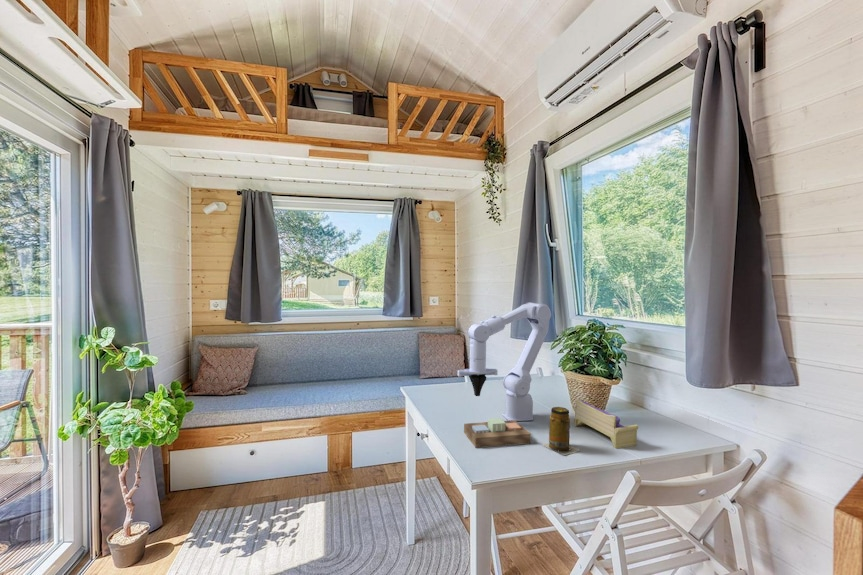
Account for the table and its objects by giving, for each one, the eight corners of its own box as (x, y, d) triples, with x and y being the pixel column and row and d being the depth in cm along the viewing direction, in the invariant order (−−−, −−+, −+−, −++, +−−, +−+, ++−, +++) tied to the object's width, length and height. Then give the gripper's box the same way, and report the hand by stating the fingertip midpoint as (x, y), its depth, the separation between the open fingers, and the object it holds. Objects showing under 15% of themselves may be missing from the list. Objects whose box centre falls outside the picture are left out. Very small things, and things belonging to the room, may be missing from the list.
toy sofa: (638, 446, 126) (640, 414, 126) (617, 450, 123) (618, 417, 123) (592, 423, 146) (593, 395, 146) (572, 425, 143) (573, 397, 143)
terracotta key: (515, 432, 135) (515, 422, 134) (521, 437, 130) (521, 427, 130) (503, 433, 134) (503, 423, 134) (508, 438, 129) (508, 428, 129)
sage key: (500, 428, 133) (500, 418, 133) (505, 433, 129) (505, 423, 129) (487, 429, 132) (487, 419, 132) (492, 434, 128) (492, 424, 128)
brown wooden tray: (514, 428, 139) (514, 420, 139) (530, 443, 127) (530, 433, 127) (463, 432, 135) (464, 423, 135) (475, 447, 123) (475, 438, 123)
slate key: (484, 434, 132) (484, 424, 132) (489, 440, 128) (489, 429, 128) (471, 435, 131) (471, 425, 131) (476, 441, 127) (476, 430, 127)
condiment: (558, 440, 129) (559, 404, 129) (580, 450, 122) (581, 412, 122) (542, 445, 125) (543, 407, 125) (564, 456, 118) (565, 416, 118)
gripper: (492, 355, 149) (492, 391, 149) (455, 356, 146) (454, 393, 146) (500, 359, 142) (499, 396, 142) (460, 360, 139) (460, 398, 139)
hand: (477, 395), depth 144 cm, fingers closed
